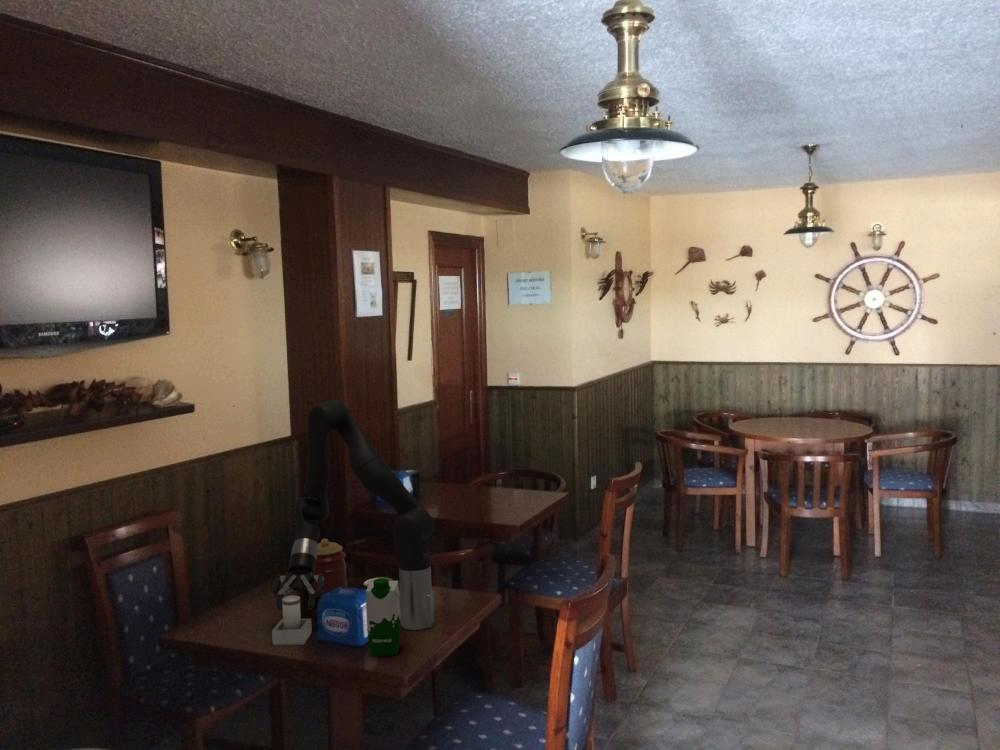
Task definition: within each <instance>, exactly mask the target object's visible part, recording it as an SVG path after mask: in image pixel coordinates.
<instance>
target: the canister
mask: <svg viewBox="0 0 1000 750" xmlns="http://www.w3.org/2000/svg"><path fill="white" fill-rule="evenodd" d="M343 549H344V547H343V546H342V545H341V544H338V543H337V542H332V541H329V539H328V538H322V539H321V540H320V542H318V551H317V559H316V564H315V571H314V575H319V574H320V573H322V574H323V576H324V587H323V593H325V592H327V591H329V590H331V589H333V588H336V587H344V586H347V587H348V581H347V580H348V579H347V562H345V557H346V555H347V554H346V552H344V551H343ZM310 585H311V587H312V588H313V590H314V591H315V590H317V585H318V583H317V581H316V580H314V581H313V582H312V583H311V584H310ZM306 591H307V594H308V595H311V594H310V593H309V591H308V590H307V589H306ZM316 598H320V597H319V596H317V597H316Z"/></svg>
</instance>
